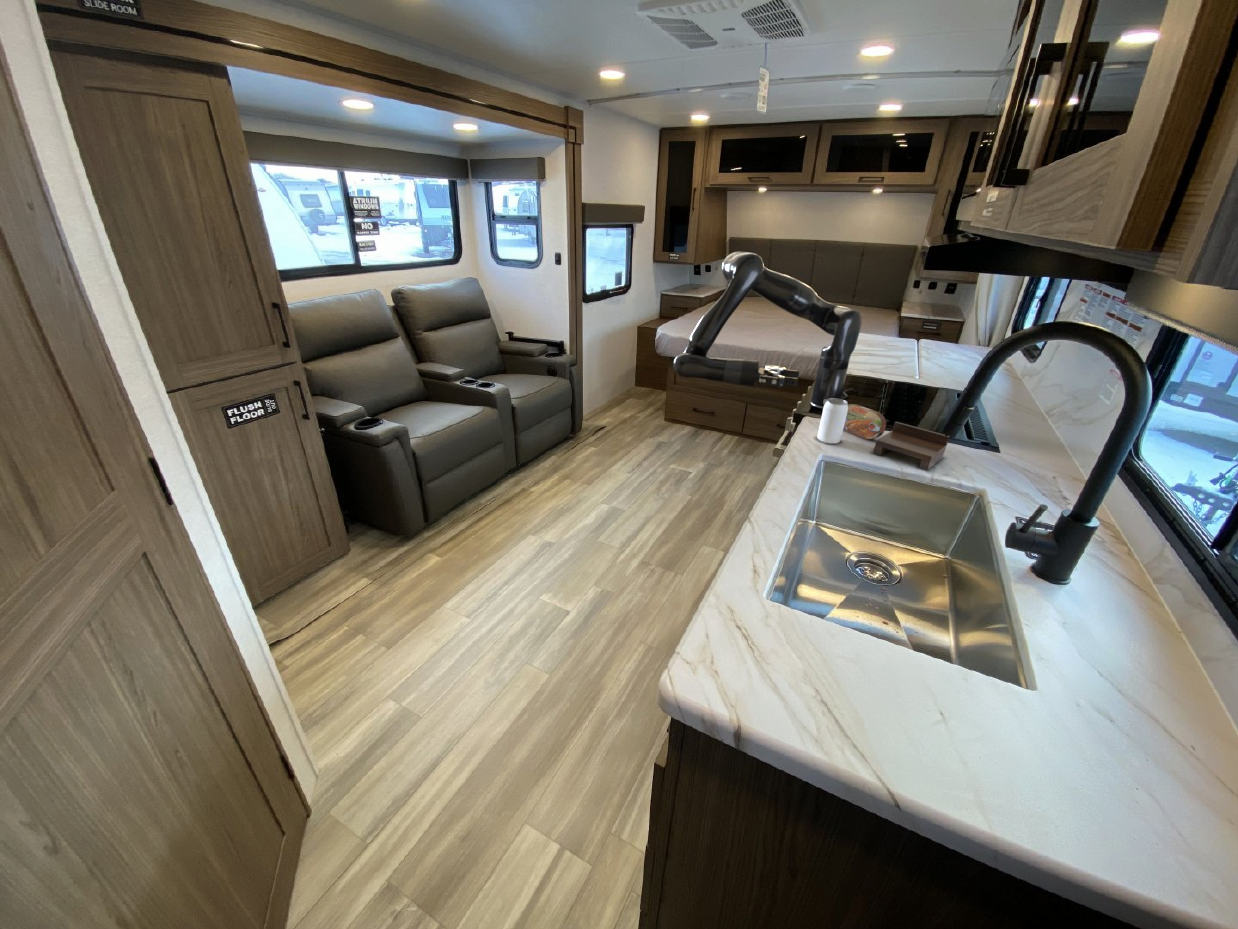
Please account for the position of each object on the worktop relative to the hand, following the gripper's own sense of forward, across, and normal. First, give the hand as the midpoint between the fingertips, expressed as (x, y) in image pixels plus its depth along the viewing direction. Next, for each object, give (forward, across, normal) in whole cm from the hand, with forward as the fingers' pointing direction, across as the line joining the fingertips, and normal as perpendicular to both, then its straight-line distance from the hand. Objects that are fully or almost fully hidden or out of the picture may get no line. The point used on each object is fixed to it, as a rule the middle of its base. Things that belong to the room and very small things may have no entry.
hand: (798, 378), depth 141 cm
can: (+12, 0, +18) cm, 21 cm away
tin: (+20, +9, +17) cm, 28 cm away
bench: (+32, -3, +17) cm, 37 cm away
